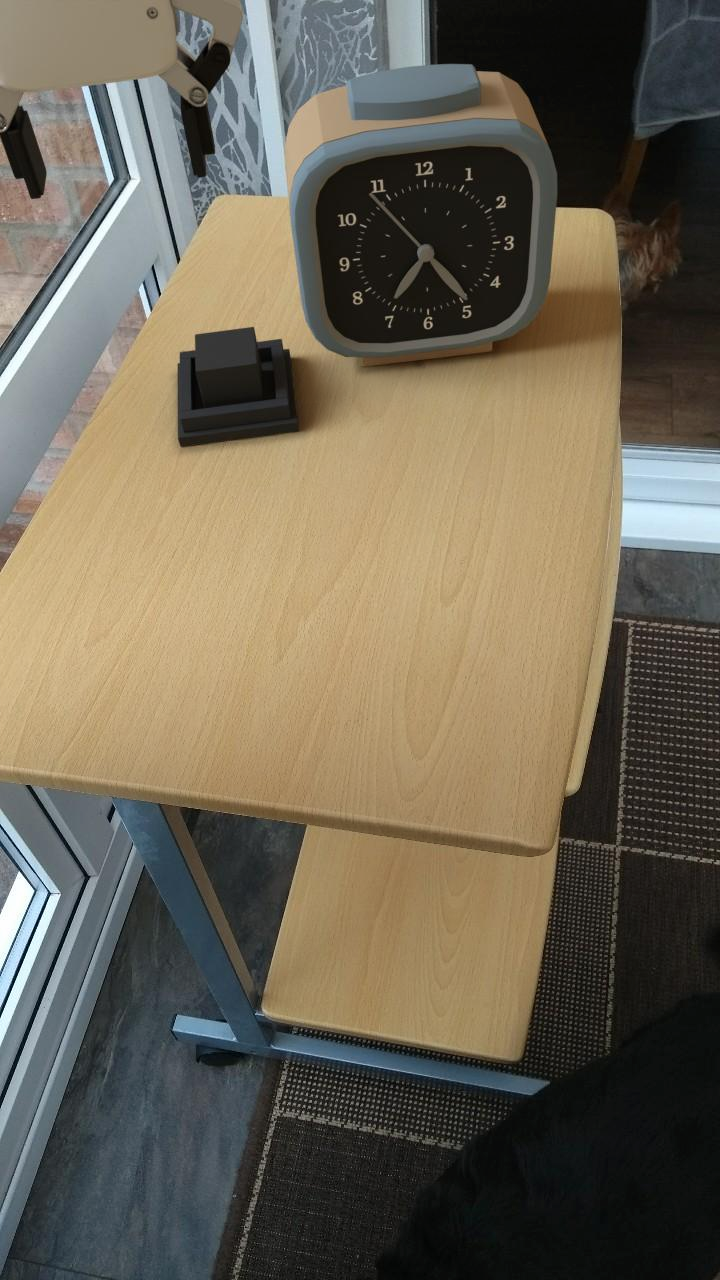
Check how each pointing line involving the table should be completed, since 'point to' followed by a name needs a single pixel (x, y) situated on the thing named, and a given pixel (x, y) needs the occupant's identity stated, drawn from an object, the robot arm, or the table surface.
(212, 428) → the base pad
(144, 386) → the table surface
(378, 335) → the alarm clock
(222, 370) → the black cube
